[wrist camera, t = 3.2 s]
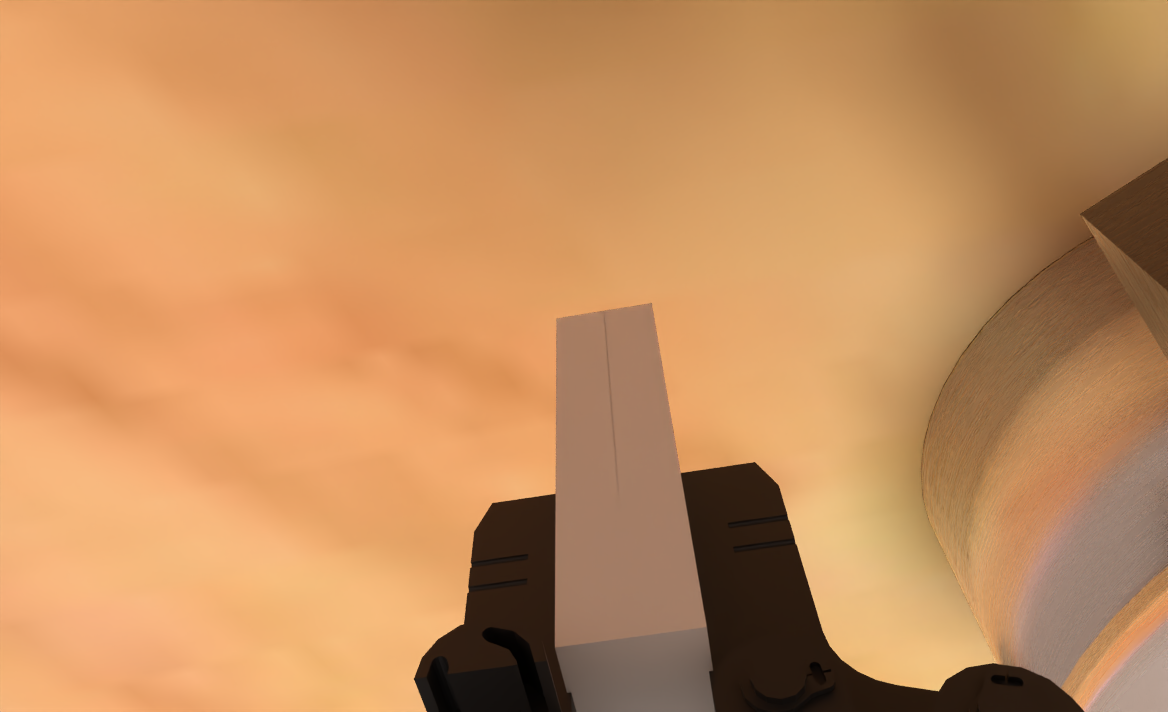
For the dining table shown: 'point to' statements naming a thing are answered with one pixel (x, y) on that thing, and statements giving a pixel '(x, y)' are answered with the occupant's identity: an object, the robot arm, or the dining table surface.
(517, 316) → the dining table surface
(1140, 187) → the lid
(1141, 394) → the pot
